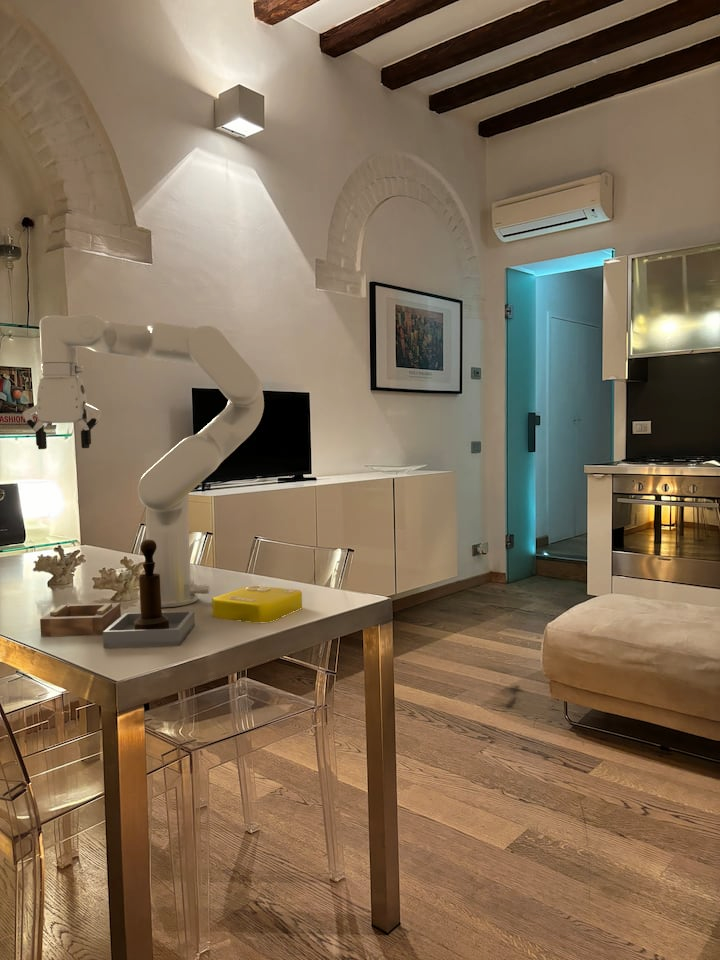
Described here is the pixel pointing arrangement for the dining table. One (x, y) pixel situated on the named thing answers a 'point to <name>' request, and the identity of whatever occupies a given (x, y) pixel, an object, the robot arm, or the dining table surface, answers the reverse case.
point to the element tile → (256, 603)
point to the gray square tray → (149, 631)
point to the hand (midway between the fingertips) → (64, 448)
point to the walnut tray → (79, 619)
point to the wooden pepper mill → (150, 593)
